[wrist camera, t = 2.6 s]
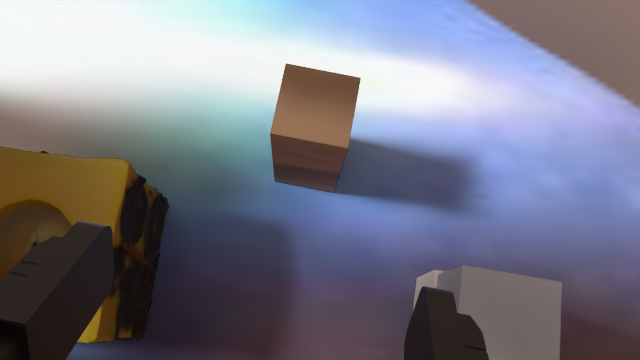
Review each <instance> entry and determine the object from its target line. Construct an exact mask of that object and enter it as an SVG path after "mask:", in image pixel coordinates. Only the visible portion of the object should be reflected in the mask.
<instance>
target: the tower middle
mask: <svg viewBox="0 0 640 360" xmlns="http://www.w3.org/2000/svg"><path fill="white" fill-rule="evenodd" d="M437 289H442V290H448V291H452V292H453V294H454V298H455V303H456V308H457V313H460V314H465V315H471V317H472V318H473V320H474V321H475V322H476V324H477V325H478V327H479V328H480V329H481V331H482V332H483V336H484V341H485V345H486V349H487V350H486V353H488V357H489V360H560V331H561V300H562V282H559V281H553V280H547V279H542V278H536V277H530V276H524V275H518V274H512V273H506V272H501V271H495V270H489V269H483V268H477V267H471V266H466V265H461V266H459V267H456V268H454V269H451V270H448V271H446V272H443V273H441V274H438V278H437Z"/></svg>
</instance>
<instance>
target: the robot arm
mask: <svg viewBox="0 0 640 360" xmlns="http://www.w3.org/2000/svg"><path fill="white" fill-rule="evenodd" d="M113 277H114V264H113V234H112V229H111V227H110V226H108V225H102V224H97V223H92V222H86V221H78V222H76V223H75V224H74V225H73V226H72V228H71V229H70V230H69V231H68V232H67V233H66V234H65V235H64V236H63V237H57V236H52V237H51V238H49V239H47V240H45V241H43V242H41V243H39V244H37V245H35V246H34V247H33V248H32V249H31V250H30V251H29V252H28V253H27V254H26V255H25V256H24V257H23V258H22V259H21V260H20V263H17V264H16V265H15V266H14V267H13V268H12V269H11V270H10V271H9V274H6V275H5V276H4V277H3V278H2V279H1V280H0V360H65V359H66V358H67V356H68V355H69V353H70V352H71V350H72V349H73V347H74V346H75V344H76V343H77V341H78V340H79V338H80V337H81V335H82V334H83V332H84V331H85V329H86V328H87V326H88V325H89V323H90V322H91V320H92V319H93V317H94V316H95V314H96V313H97V311H98V310H99V308H100V307H101V305H102V304H103V302H104V301H105V299H106V298H107V296H108V294H109V292H110V289H111V286H112V282H113ZM486 350H487V349H486V345H485V341H484V336H483V332H482V331H481V329H480V328H479V327H478V325H477V324H476V322H475V321H474V320H473V318H472V317H471V315H465V314H460V313H457V308H456V303H455V298H454V294H453V292H452V291H448V290H442V289H437V288H432V287H426V286H423V287H422V288H421V290H420V292H419V295H418V298H417V301H416V305H415V308H414V311H413V314H412V317H411V320H410V323H409V326H408V329H407V333H406V338H405V345H404V360H489V357H488V353H486Z"/></svg>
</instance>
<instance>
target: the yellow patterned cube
mask: <svg viewBox="0 0 640 360" xmlns="http://www.w3.org/2000/svg"><path fill="white" fill-rule="evenodd" d="M168 208H169V206H168V202H167V198H165V197H163V195H162V193H159V192H158V191H157V189H155V188H153V187H151V186H149V185H148V184H147V183H146V179H145V178H143V177H142V176H140V175H138V174H137V173H136V172H135V170H134V168H133V167H132V165H131V164H130V163H129V162H127V161H124V160H121V159H112V158H86V159H81V158H76V157H71V156H66V155H56V154H49V153H47V152H45V151H42V152H31V151H23V150H17V149H11V148H5V147H1V146H0V280H1V279H2V278H3V277H4V276H5V275H6V274H9V271H10V270H11V269H12V268H13V267H14V266H15V265H16V264H17V263H20V260H21V259H22V258H23V257H24V256H25V255H26V254H27V253H28V252H29V251H30V250H31V249H32V248H33V247H34V246H35V245H37V244H39V243H41V242H43V241H45V240H47V239H49V238H51V237H52V236H57V237H63V236H64V235H65V234H66V233H67V232H68V231H69V230H70V229H71V228H72V226H73V225H74V224H75V223H76V222H78V221H86V222H92V223H97V224H102V225H108V226H110V227H111V229H112V234H113V264H114V277H113V282H112V286H111V289H110V292H109V294H108V296H107V298H106V299H105V301H104V302H103V304H102V305H101V307H100V308H99V310H98V311H97V313H96V314H95V316H94V317H93V319H92V320H91V322H90V323H89V325H88V326H87V328H86V329H85V331H84V332H83V334H82V335H81V337H80V338H79V340H78V341H77V342H82V343H96V342H102V341H108V342H111V341H112V340H114V339H117V340H131V341H132V340H139V339H142V337H143V334H144V330H145V327H146V323H147V312H148V310H149V309H150V307H151V299H152V297H151V291H152V290H153V283H154V280H155V276H154V275H155V272H156V269H157V262H158V258H159V256H160V253H159V247H160V240H161V235H162V232H163V225H164V218H165V214H166V212H167V210H168Z"/></svg>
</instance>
